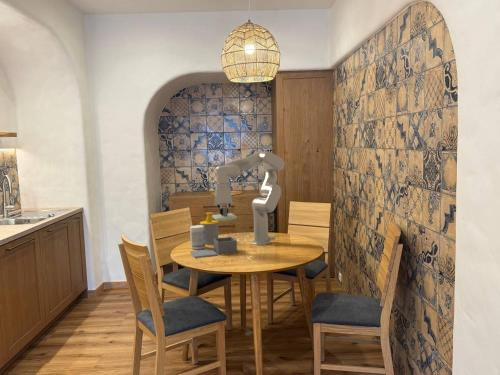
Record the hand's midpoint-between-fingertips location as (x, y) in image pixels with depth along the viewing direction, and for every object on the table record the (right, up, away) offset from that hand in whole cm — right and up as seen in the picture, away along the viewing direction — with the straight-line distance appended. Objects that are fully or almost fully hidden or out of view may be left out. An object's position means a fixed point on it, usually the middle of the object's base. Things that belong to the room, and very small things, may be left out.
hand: (224, 214), depth 267 cm
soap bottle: (-12, -22, +30) cm, 39 cm away
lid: (0, -2, 0) cm, 2 cm away
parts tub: (+1, -24, +2) cm, 24 cm away
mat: (-13, -25, -2) cm, 28 cm away
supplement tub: (-18, -24, +15) cm, 33 cm away
